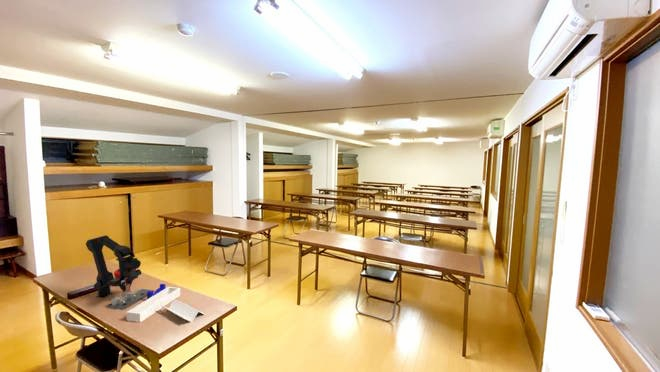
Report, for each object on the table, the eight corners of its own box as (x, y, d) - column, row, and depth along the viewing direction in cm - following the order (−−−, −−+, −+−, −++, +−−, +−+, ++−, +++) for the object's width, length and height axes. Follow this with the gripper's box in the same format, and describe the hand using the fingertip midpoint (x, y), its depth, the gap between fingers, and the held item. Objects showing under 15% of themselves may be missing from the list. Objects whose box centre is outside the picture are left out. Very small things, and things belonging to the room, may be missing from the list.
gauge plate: (107, 307, 167) (107, 300, 167) (138, 290, 189) (138, 283, 188) (123, 309, 165) (123, 302, 164) (153, 292, 186) (153, 285, 186)
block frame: (126, 320, 154) (126, 312, 154) (168, 293, 185) (168, 286, 184) (140, 322, 153) (139, 313, 152) (180, 295, 183) (180, 288, 182)
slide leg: (122, 297, 175) (121, 284, 174) (126, 295, 178) (125, 282, 177) (133, 299, 174) (132, 286, 173) (137, 296, 177) (136, 283, 176)
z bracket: (175, 312, 171) (182, 302, 174) (199, 325, 158) (205, 314, 161) (160, 305, 163) (167, 295, 166) (183, 318, 149) (191, 307, 153)
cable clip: (160, 291, 188) (159, 283, 187) (165, 292, 187) (165, 284, 186) (145, 300, 176) (144, 291, 175) (151, 301, 175) (150, 292, 174)
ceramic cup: (126, 277, 209) (125, 264, 208) (141, 281, 203) (140, 268, 202) (107, 284, 197) (106, 271, 196) (122, 288, 191) (121, 275, 190)
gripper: (121, 274, 164) (123, 298, 165) (147, 262, 182) (149, 284, 183) (106, 272, 166) (108, 296, 167) (133, 261, 184) (135, 283, 186)
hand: (126, 290), depth 176 cm, fingers closed on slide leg, 3 cm apart
